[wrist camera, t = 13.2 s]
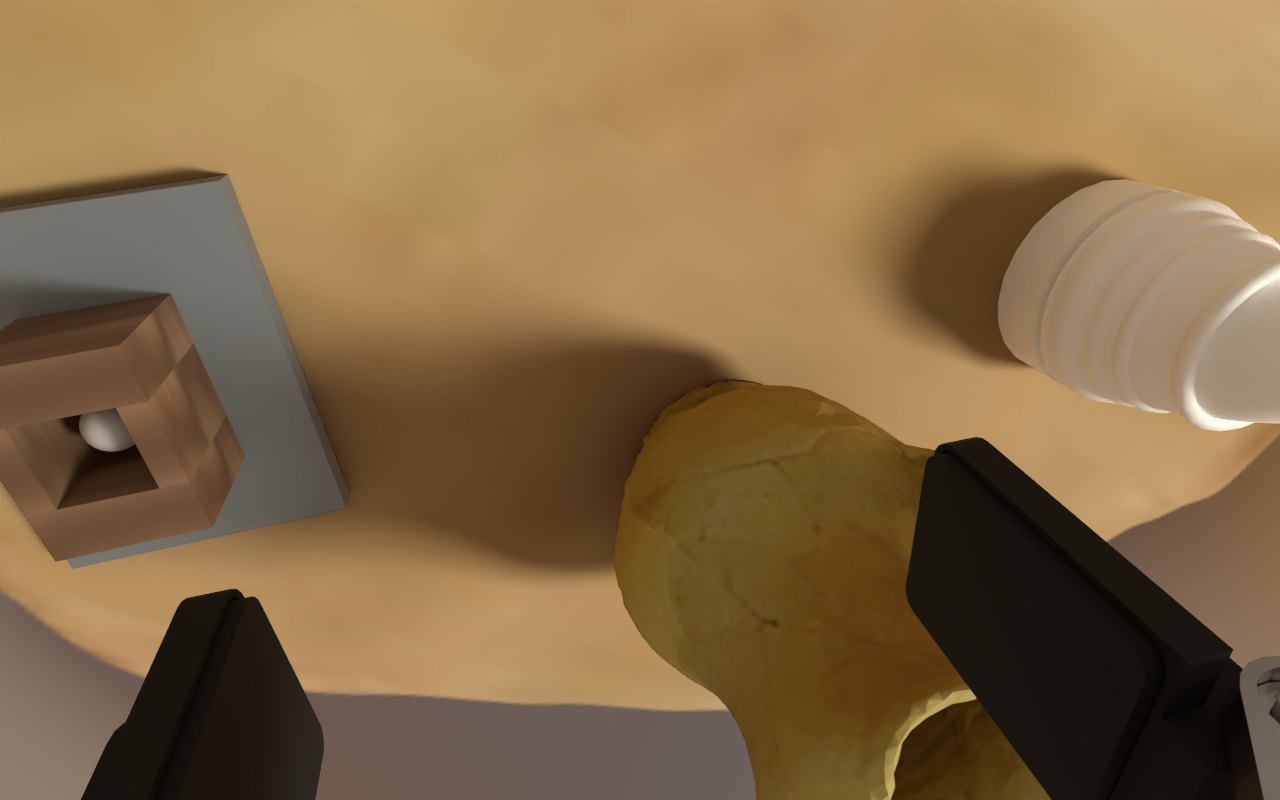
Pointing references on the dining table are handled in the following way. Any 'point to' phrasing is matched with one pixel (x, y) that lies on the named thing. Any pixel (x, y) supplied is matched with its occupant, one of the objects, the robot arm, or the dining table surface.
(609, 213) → the dining table surface
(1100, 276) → the honey pot
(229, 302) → the base plate
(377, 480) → the dining table surface
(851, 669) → the pitcher
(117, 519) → the block
